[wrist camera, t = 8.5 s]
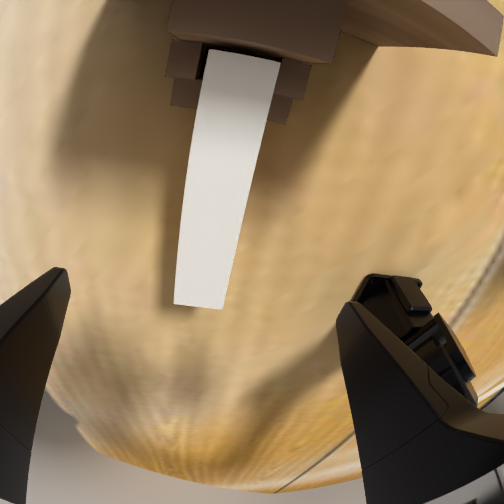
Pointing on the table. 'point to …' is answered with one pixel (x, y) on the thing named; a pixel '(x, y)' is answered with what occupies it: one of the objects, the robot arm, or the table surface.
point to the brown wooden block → (316, 35)
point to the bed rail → (220, 172)
